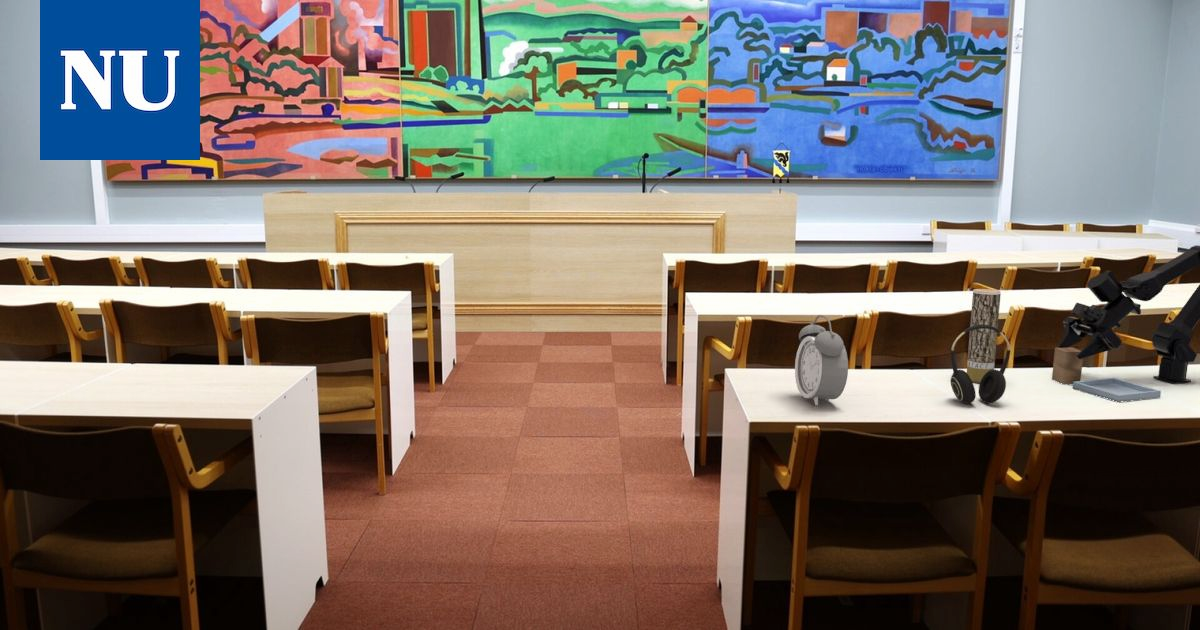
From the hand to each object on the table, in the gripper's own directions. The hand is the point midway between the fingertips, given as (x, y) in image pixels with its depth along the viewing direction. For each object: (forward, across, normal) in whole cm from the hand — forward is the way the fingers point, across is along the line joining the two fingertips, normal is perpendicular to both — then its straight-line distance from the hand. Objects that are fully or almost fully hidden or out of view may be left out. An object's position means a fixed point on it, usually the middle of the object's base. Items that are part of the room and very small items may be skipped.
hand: (1068, 353), depth 237 cm
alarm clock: (+58, +15, -46) cm, 75 cm away
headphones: (+30, +18, -18) cm, 40 cm away
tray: (+1, +12, +10) cm, 16 cm away
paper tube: (+22, -2, -10) cm, 25 cm away
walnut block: (+5, 0, +6) cm, 8 cm away
